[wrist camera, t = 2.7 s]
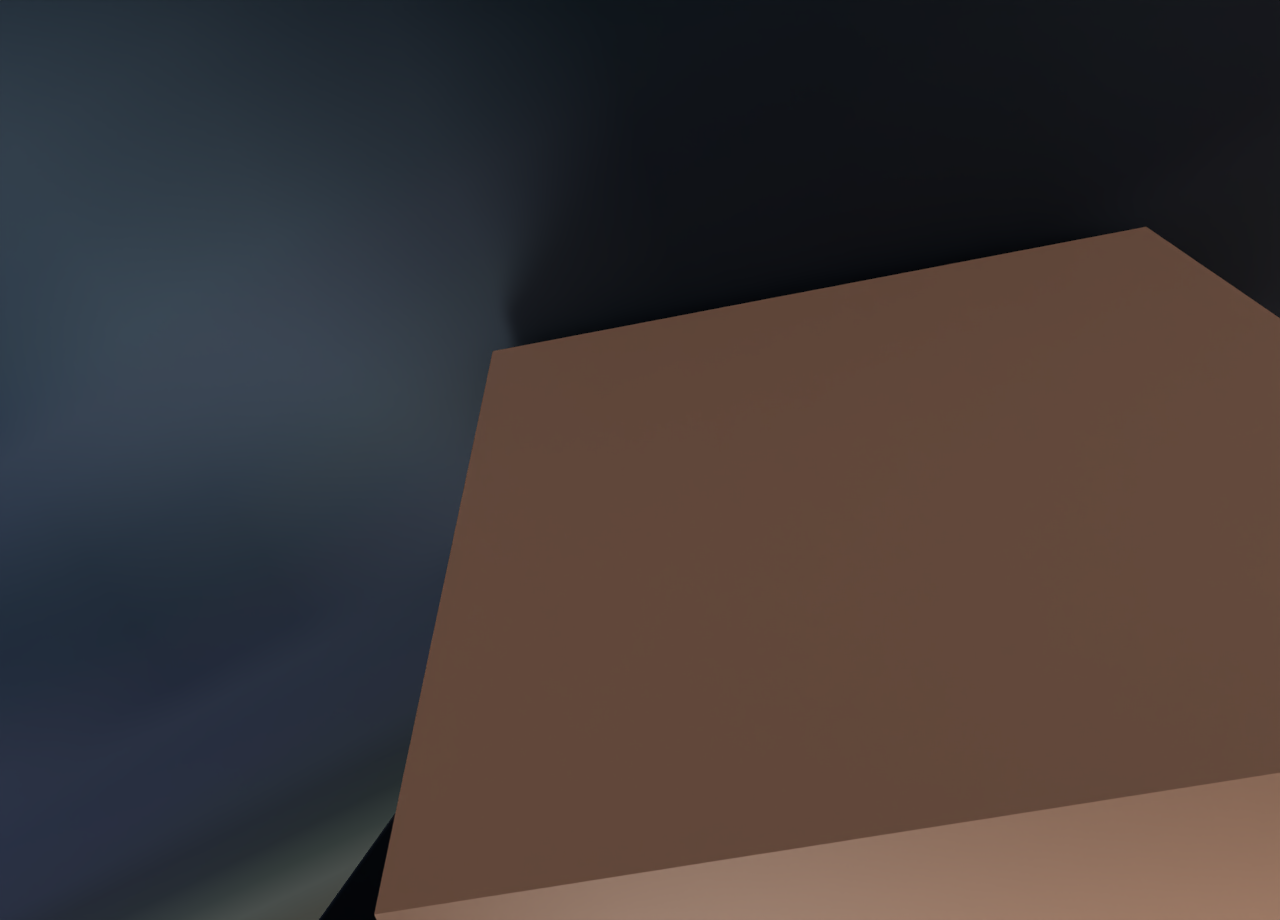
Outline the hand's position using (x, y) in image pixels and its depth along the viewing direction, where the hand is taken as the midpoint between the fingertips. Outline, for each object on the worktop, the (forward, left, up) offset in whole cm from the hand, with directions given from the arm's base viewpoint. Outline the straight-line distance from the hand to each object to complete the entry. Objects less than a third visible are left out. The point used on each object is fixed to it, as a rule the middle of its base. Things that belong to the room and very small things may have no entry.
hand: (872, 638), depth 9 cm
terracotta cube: (0, 0, -1) cm, 1 cm away
